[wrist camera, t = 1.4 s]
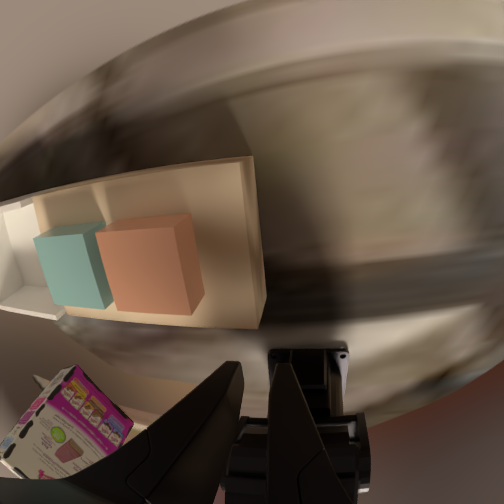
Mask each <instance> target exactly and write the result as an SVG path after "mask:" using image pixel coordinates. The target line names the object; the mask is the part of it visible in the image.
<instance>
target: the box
mask: <svg viewBox="0 0 504 504" xmlns="http://www.w3.org/2000/svg"><path fill="white" fill-rule="evenodd" d="M58 187H61V186H58ZM58 187H54V188H50V189H46V190H42V191H38V192H35V193H31V194H27V195H23V196H20V197H16V198H13V199H9V200H6V201H2V202H0V309H2V310H7V311H11V312H16V313H21V314H26V315H31V316H37V317H42V318H47V319H53V320H58V319H59V318H60V317H62V316H63V315H64V314H65V313H66V310H65V307H64V305H56V304H54V301H53V299H52V296H51V293H50V291H49V288H48V285H47V282H46V279H45V276H44V273H43V270H42V267H41V264H40V261H39V258H38V254H37V251H36V248H35V244H34V241H33V238H35V237H36V236H38V235H40V234H41V233H40V230H39V226H38V222H37V217H36V213H35V209H34V204H33V200H32V197H33V196H36V195H39V194H41V193H44V192H47V191H49V190H52V189H55V188H58Z"/></svg>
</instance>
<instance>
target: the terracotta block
mask: <svg viewBox="0 0 504 504" xmlns="http://www.w3.org/2000/svg"><path fill="white" fill-rule="evenodd" d="M95 235H96V239H97V243H98V247H99V251H100V255H101V258H102V262H103V265H104V269H105V272H106V276H107V279H108V283H109V286H110V289H111V292H112V296H113V299H114V302H115V305H116V308H117V311H125V312H138V313H152V314H168V315H187V316H192V314H193V313H194V311H195V310H196V308H197V306H198V305H199V303H200V301H201V300H202V298H203V296H204V295H205V291H204V286H203V281H202V275H201V270H200V264H199V258H198V253H197V247H196V241H195V235H194V229H193V223H192V217H191V213H190V214H177V215H165V216H153V217H142V218H131V219H120V220H116V221H114V222H113V223H111V224H109V225H107V226H106V227H104V228H102V229H100V230H99V231H97V232H95Z"/></svg>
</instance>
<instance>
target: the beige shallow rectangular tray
mask: <svg viewBox="0 0 504 504" xmlns="http://www.w3.org/2000/svg"><path fill="white" fill-rule="evenodd" d="M32 200H33V204H34V209H35V213H36V217H37V222H38V226H39V230H40V233H41V234H42V233H44V232H46V231H48V230H50V229H52V228H54V227H57V226H65V225H73V224H82V223H91V222H101V221H105V222H106V226H107V225H109V224H111V223H113V222H114V221H116V220H120V219H131V218H142V217H153V216H165V215H177V214H190V213H191V217H192V223H193V229H194V235H195V241H196V247H197V253H198V258H199V264H200V270H201V275H202V281H203V286H204V291H205V295H204V296H203V298H202V300H201V301H200V303H199V305H198V306H197V308H196V310H195V311H194V313H193V314H192V316H187V315H168V314H152V313H138V312H125V311H117V308H116V305H115V302H113V303H112V304H111V305H110V306H109V307H107V308H106V309H105V310H102V309H92V308H82V307H73V306H64V307H65V310H66V312H67V315H75V316H82V317H90V318H99V319H107V320H117V321H126V322H137V323H148V324H160V325H174V326H190V327H208V328H232V329H258V327H259V323H260V320H261V316H262V313H263V309H264V305H265V302H266V298H267V294H266V283H265V272H264V261H263V251H262V240H261V230H260V220H259V209H258V199H257V189H256V179H255V169H254V159H253V156H243V157H233V158H223V159H214V160H205V161H197V162H190V163H182V164H175V165H168V166H161V167H155V168H149V169H143V170H137V171H131V172H125V173H120V174H115V175H109V176H104V177H99V178H94V179H90V180H85V181H80V182H76V183H71V184H67V185H63V186H61V187H58V188H55V189H52V190H49V191H47V192H44V193H41V194H39V195H36V196H33V197H32Z"/></svg>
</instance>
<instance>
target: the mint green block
mask: <svg viewBox="0 0 504 504" xmlns="http://www.w3.org/2000/svg"><path fill="white" fill-rule="evenodd" d="M104 227H106V222H105V221H101V222H91V223H82V224H73V225H65V226H57V227H54V228H52V229H50V230H48V231H46V232H44V233H42V234H40V235H38V236H36V237H35V238H33V241H34V244H35V248H36V251H37V254H38V258H39V261H40V264H41V267H42V270H43V273H44V276H45V279H46V282H47V285H48V288H49V291H50V293H51V296H52V299H53V301H54V304H56V305H64V306H73V307H82V308H92V309H102V310H105V309H106V308H107V307H109V306H110V305H111V304H112V303H113V302H114V299H113V296H112V292H111V289H110V286H109V283H108V279H107V276H106V272H105V269H104V265H103V262H102V258H101V255H100V251H99V247H98V243H97V239H96V235H95V232H97V231H99V230H100V229H102V228H104Z"/></svg>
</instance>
